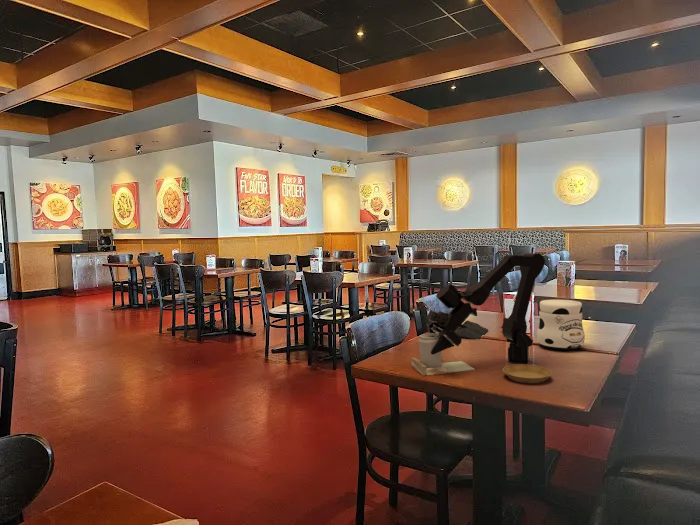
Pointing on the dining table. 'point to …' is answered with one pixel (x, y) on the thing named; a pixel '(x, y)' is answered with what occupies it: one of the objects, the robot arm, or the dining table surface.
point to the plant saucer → (527, 373)
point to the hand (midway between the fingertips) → (427, 350)
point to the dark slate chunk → (471, 330)
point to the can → (429, 350)
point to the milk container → (560, 324)
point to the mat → (457, 366)
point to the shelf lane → (427, 371)
